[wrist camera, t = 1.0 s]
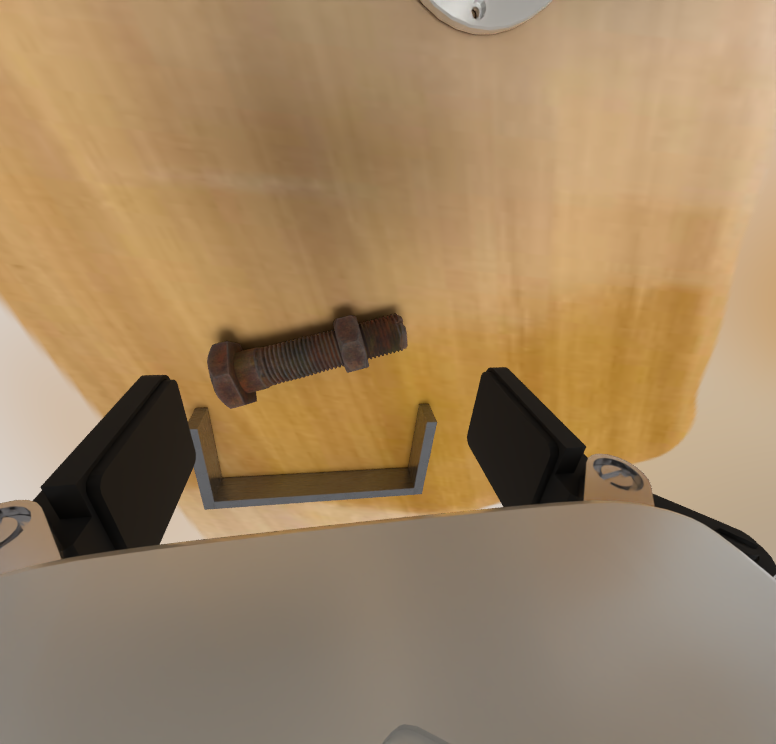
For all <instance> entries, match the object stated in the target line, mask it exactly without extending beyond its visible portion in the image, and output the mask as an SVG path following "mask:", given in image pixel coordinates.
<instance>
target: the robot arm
mask: <svg viewBox="0 0 776 744" xmlns="http://www.w3.org/2000/svg"><path fill="white" fill-rule="evenodd" d="M420 1H421V2H422V4H423V5H424V6H426V7H427V8H428V9H429V10H430V11H431V12H432V13H433V14H434V15H435V16H436V17H437V18H438V19H440V20H441V21H443V22H445V23H446V24H448V25H450V26H451V27H453V28H455V29H457V30H460V31H464V32H468V33H471V34H496V33H500V32H504V31H507V30H511V29H513V28H515V27H517V26H519V25H520V24H522V23H524V22H526V21H528V20H530V19H531V18H532V17H533V16H535V15H536V14H537V13H539V12H540V11H541V10H543V9H544V8H545V7H547V6H548V5H549V4H550V3H551V2H552V1H553V0H420ZM471 10H475V12H476V19H475V18H473V15H472V11H471ZM467 441H468V445H469V447H470V448H471V450H472V452H473V454H474V456H475V457H476V459H477V461H478V463H479V464H480V466H481V468H482V470H483V472H484V473H485V475H486V477H487V479H488V480H489V482H490V484H491V486H492V487H493V489H494V491H495V493H496V495H497V496H498V498H499V500H500V502H501V503H502V505H503V507H501V508H491V509H481V510H471V511H461V512H451V513H441V514H432V515H422V516H412V517H403V518H394V519H384V520H375V521H365V522H356V523H347V524H337V525H328V526H319V527H310V528H301V529H292V530H283V531H274V532H265V533H256V534H247V535H238V536H230V537H221V538H212V539H203V540H195V541H186V542H178V543H170V544H161V545H159V544H160V542H161V540H162V538H163V535H164V533H165V531H166V528H167V526H168V524H169V521H170V519H171V517H172V515H173V512H174V510H175V508H176V506H177V503H178V501H179V499H180V497H181V494H182V492H183V490H184V487H185V485H186V483H187V481H188V478H189V476H190V474H191V471H192V469H193V467H194V464H195V461H196V451H195V447H194V444H193V440H192V436H191V432H190V429H189V425H188V421H187V418H186V414H185V410H184V406H183V403H182V399H181V395H180V391H179V388H178V384H177V382H176V381H175V380H170V378H169V377H168V376H167V375H144V376H141V377H140V378H139V379H138V380H137V381H136V382H135V384H134V385H133V386H132V387H131V388H130V389H129V390H128V391H127V392H126V393H125V395H124V396H123V397H122V398H121V399H120V400H119V401H118V402H117V403H116V404H115V406H114V407H113V408H112V409H111V410H110V411H109V412H108V413H107V414H106V415H105V417H104V418H103V419H102V420H101V421H100V422H99V423H98V424H97V425H96V426H95V428H94V429H93V430H92V431H91V432H90V433H89V434H88V435H87V436H86V437H85V439H84V440H83V441H82V442H81V443H80V444H79V445H78V446H77V447H76V448H75V450H74V451H73V452H72V453H71V454H70V455H69V456H68V457H67V458H66V460H65V461H64V462H63V463H62V464H61V465H60V466H59V467H58V469H56V470H55V472H54V473H53V474H52V475H51V476H50V477H49V478H48V479H47V480H46V481H45V483H44V484H43V485H42V486H41V489H42V491H41V492H40V493H39V494H38V496H37V497H36V498H35V499H34V500H33V501H30V500H14V501H9V502H5V503H0V744H776V565H775V563H774V561H773V560H772V558H771V556H770V555H769V554H768V553H767V552H766V551H765V550H764V549H763V548H762V547H761V546H760V545H759V544H757V543H756V541H755V540H754V539H752V538H751V537H750V536H749V535H747V534H745V533H744V532H742V531H740V530H738V529H736V528H733V527H731V526H729V525H726V524H724V523H722V522H719V521H717V520H714V519H712V518H710V517H707V516H705V515H703V514H700V513H698V512H695V511H693V510H691V509H688V508H686V507H683V506H681V505H679V504H676V503H674V502H672V501H669V500H667V499H664V498H662V497H660V496H657V495H655V494H652V488H651V485H650V482H649V479H648V478H647V477H646V476H645V475H644V473H643V472H641V471H640V470H639V469H638V468H637V467H635V466H634V465H632V464H630V463H629V462H627V461H625V460H623V459H620V458H618V457H615V456H611V455H607V454H595V455H592V456H590V457H589V458H587V457H586V456H585V455H584V450H585V448H586V446H585V445H584V444H583V443H582V442H581V441H580V440H579V439H578V438H577V437H576V436H575V435H574V434H573V433H572V432H571V431H570V430H569V429H568V428H567V427H566V426H565V425H564V424H563V423H562V422H561V421H560V420H559V419H558V418H557V417H556V416H555V415H554V414H553V413H552V412H551V411H550V410H549V409H548V408H547V407H546V406H545V405H544V404H543V403H542V402H541V401H540V400H539V399H538V398H537V397H536V396H535V395H534V394H533V393H532V392H531V391H530V390H529V389H528V388H527V387H526V386H525V385H524V384H523V383H522V382H521V381H520V380H519V379H518V378H517V377H516V376H515V375H514V374H513V373H512V372H511V371H510V370H509V369H508V368H506V367H499V368H488V369H487V371H486V372H484V373H483V374H482V375H481V379H480V383H479V388H478V392H477V396H476V400H475V405H474V409H473V413H472V417H471V421H470V426H469V430H468V434H467Z"/></svg>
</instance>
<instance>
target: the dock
mask: <svg viewBox="0 0 776 744" xmlns="http://www.w3.org/2000/svg"><path fill="white" fill-rule="evenodd" d="M436 424H437V421H436V419H435V417H434V414H433V412H432V410H431V408H430V406H429V404H419V408H418V414H417V420H416V425H415V431H414V437H413V442H412V448H411V454H410V460H409V465H408V468H392V469H374V470H357V471H339V472H321V473H303V474H285V475H267V476H249V477H231V478H222V476H221V471H220V466H219V461H218V456H217V451H216V446H215V441H214V437H213V432H212V427H211V422H210V417H209V412H208V408H195V410H194V412H193V414H192V416H191V418H190V420H189V421H188V425H189V429H190V432H191V436H192V440H193V444H194V447H195V451H196V461H195V464H194V470H195V474H196V478H197V482H198V485H199V489H200V493H201V497H202V501H203V505H204V509H205V510H206V509H219V508H233V507H247V506H261V505H275V504H289V503H303V502H317V501H331V500H345V499H358V498H372V497H386V496H400V495H414V494H422V490H423V485H424V481H425V476H426V471H427V467H428V462H429V457H430V453H431V448H432V443H433V439H434V434H435V429H436Z"/></svg>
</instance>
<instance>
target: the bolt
mask: <svg viewBox="0 0 776 744" xmlns="http://www.w3.org/2000/svg"><path fill="white" fill-rule="evenodd" d="M333 325H334V329H335V331H333V330H331V332H329V331H328V330H327V333H325V332H324V331H323V334H321V333H320V332H319V335H317V334H316V333H315V335H314V336H313V335H311V336H310V337H309V336H306V338H305V337H302V339H301V338H298V340H297V339H296V338H295V339H294V341H293V340H290V342H289V341H286V343H284V342H282V343H278V344H277V345H276V344H274V345H273V346H272V345H269V347H268V346H265V348H264V347H260V348H257V347H256V348H252V349H248V350H244V351H243V349H242V347H241V345H240V344H239V343H234V342H229V341H225V342H221V343H218V344H214V345H212V347H211V349H210V352H209V355H208V360H207V363H208V369H209V374H210V378H211V381H212V384H213V387H214V391H215V393H216V395H217V396H218V398H219V399H220V400H221V401H222V402H223V403H224V404H225V405H226V406H228V407H229V408H230V409H232V408H236V407H239V406H243V405H247V404H250V403H253V402H256V401H257V398H256V391H259V390H262V389H266V388H269V387H270V386H272V385H276V384H277V383H278V384H280V383H281V382H285V381H289V380H293V379H297V378H301V377H305V376H309V375H313V373H314V374H317V372H319V373H321V371H323V372H324V371H325V369H326V370H327V371H328V370H329V368H330V369H333V367H334V368H337V366H338V367H341V365H342V366H345V369H346V371H347V373H348V372H352V371H356V370H360V369H363V368H367V367H369V363H368V358H370V359H372V357H374V358H376V356H378V357H380V355H382V356H384V353H385V354H386V355H388V353H390V354H391V353H392V352H394V353H395V352H396V351H398V352H399V351H400V350H401V351H403V349H406V347H407V333H406V328H405V326H404V325H403V319H402V317H401V316H399V315H397V314H396V313H395V314H394V315H392V314H390V317H389V316H388V315H387V316H386V318H385V317H384V316H383V318H380V317H379V319H376V318H375V320H374V321H373V320H372V319H371V321H370V322H369V321H368V320H367V322H366V323H365V322H364V321H363V323H362V324H361V323H359V325H358V322H357V318H356V316H353V315H349V316H345V317H341V318H337V319H336V320H335V321H334V322H333Z"/></svg>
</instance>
